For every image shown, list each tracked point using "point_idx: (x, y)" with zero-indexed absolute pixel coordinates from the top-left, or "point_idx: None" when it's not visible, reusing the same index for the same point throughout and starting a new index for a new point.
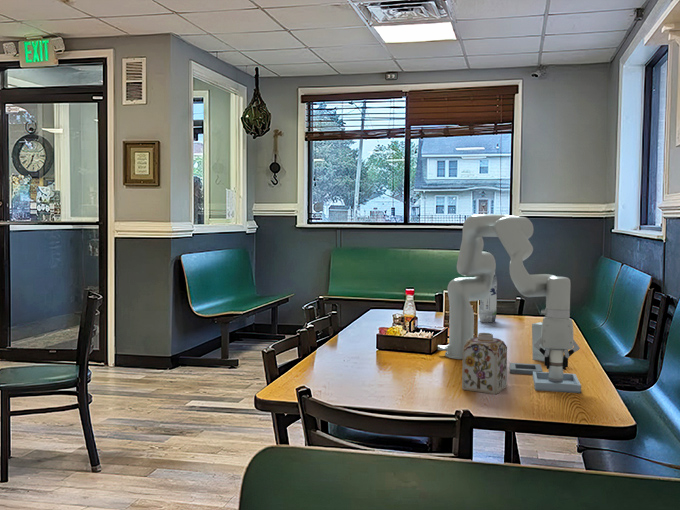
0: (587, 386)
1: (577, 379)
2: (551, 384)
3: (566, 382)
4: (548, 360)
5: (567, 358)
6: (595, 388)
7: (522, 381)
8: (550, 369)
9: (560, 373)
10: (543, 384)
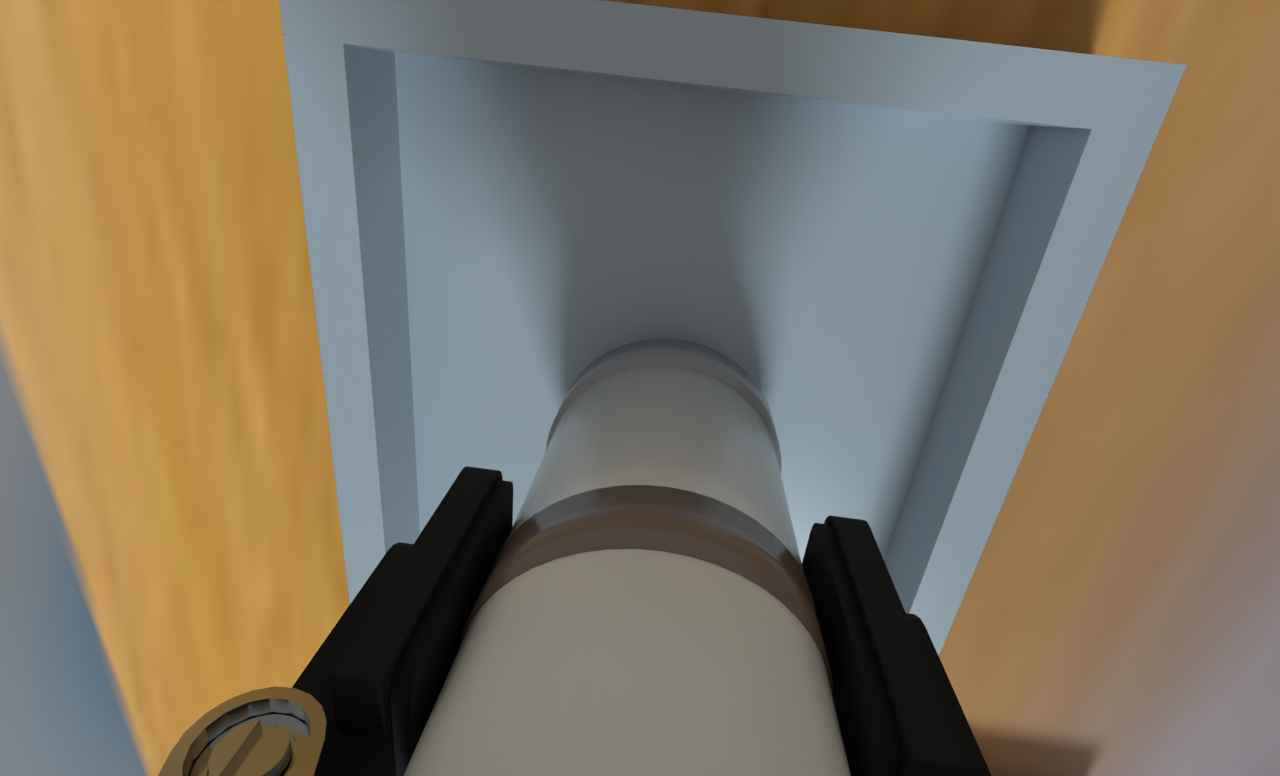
0: (267, 416)
1: (337, 417)
2: (847, 33)
3: None
4: (893, 666)
5: (300, 709)
6: (168, 331)
7: (1055, 562)
8: (784, 506)
9: (591, 421)
10: (1003, 46)
